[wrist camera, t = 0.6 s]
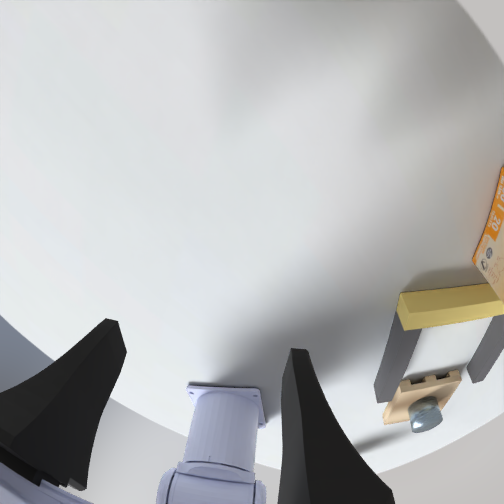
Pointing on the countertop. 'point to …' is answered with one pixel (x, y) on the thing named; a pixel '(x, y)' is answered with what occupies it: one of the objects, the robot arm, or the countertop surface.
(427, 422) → the steel cylinder puck
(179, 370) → the countertop surface
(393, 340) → the frame
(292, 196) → the countertop surface
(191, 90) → the countertop surface
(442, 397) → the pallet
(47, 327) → the countertop surface
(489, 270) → the supplement box
